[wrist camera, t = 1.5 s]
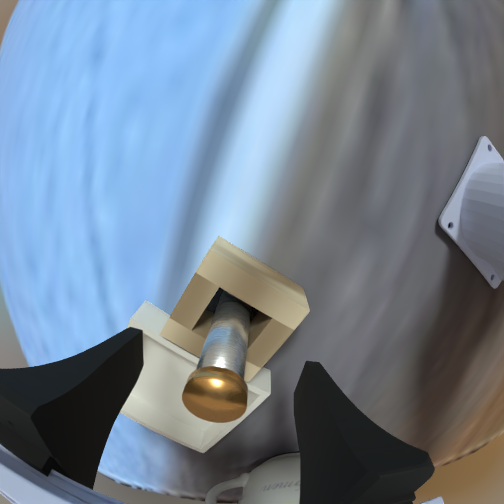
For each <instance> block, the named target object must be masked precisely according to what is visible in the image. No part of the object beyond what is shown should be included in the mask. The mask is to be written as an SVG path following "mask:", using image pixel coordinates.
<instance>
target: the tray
mask: <svg viewBox="0 0 504 504" xmlns="http://www.w3.org/2000/svg"><path fill="white" fill-rule="evenodd" d="M169 317H170V315H169V314H167V313H166V312H164V311H162V310H161V309H159V308H158V307H156V306H154V305H153V304H151V303H150V302H148V301H147V300H146V301H145V302H144V303H143V304H142V305H141V307H140V308H139V309H138V310H137V311H136V313H135V314H134V315H133V316H132V317H131V319H130V322H129V324H128V326H127V328H129V327H134V328H137V329H141V330H143V357H144V366H143V368H142V371H141V373H140V376H139V378H138V381H137V383H136V385H135V386H134V388H133V390H132V392H131V393H130V395H129V397H128V399H127V400H126V402H125V404H124V405H123V407H122V409H121V411H120V413H122V414H123V415H125V416H127V417H129V418H130V419H132V420H134V421H136V422H138V423H139V424H141V425H143V426H145V427H147V428H149V429H151V430H153V431H155V432H157V433H159V434H161V435H163V436H165V437H167V438H169V439H171V440H173V441H175V442H178V443H180V444H182V445H184V446H187V447H189V448H191V449H194V450H196V451H199V452H201V453H204V452H206V451H207V450H208V449H209V448H211V447H212V446H213V445H214V444H216V443H217V442H218V441H219V440H220V439H222V438H223V437H224V436H225V435H226V434H227V433H229V432H230V431H231V430H232V429H233V428H234V427H236V426H237V425H238V424H239V423H240V422H241V421H242V420H243V419H245V418H246V417H247V416H248V415H249V414H250V413H251V412H252V411H253V410H254V409H255V408H256V407H258V406H259V405H260V404H261V403H262V402H263V401H264V400H265V399H266V398H267V397H268V396H269V395H270V394H271V377H270V370H269V369H267V368H265V367H262V368H261V369H260V370H259V371H258V372H257V374H256V375H255V376H254V377H253V378H252V379H251V380H250V381H249V382H247V381H245V382H246V384H247V387H248V399H247V409H246V412H245V413H244V414H243V415H242V416H241V417H240V418H238V419H237V420H234V421H231V422H226V423H215V422H209V421H206V420H203V419H200V418H198V417H196V416H195V415H193V414H192V413H191V412H189V411H188V410H187V408H186V407H185V406H184V404H183V401H182V393H183V390H184V387H185V384H186V382H187V379H188V377H189V375H190V374H191V373H192V372H193V371H195V370H196V368H197V365H198V362H199V359H200V357H198V356H196V355H194V354H192V353H191V352H189V351H187V350H185V349H183V348H182V347H180V346H178V345H177V344H175V343H173V342H171V341H170V340H168V339H166V338H165V337H163V336H161V335H160V333H161V331H162V329H163V328H164V326H165V324H166V322H167V321H168V319H169ZM127 328H126V329H127Z"/></svg>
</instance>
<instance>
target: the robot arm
mask: <svg viewBox="0 0 504 504" xmlns="http://www.w3.org/2000/svg"><path fill="white" fill-rule="evenodd" d="M488 148H489V150H488ZM438 223H439V225H440V227H441V228H442V229H443V230H444V231H445V232H446V233H447V234H448V235H449V237H450V238H451V239H452V240H453V241H454V242H455V243H456V244H457V245H458V246H459V248H460V249H461V250H462V251H463V252H464V253H465V255H466V256H467V257H468V258H469V259H470V260H471V262H472V263H473V264H474V265H475V266H476V268H477V269H478V270H479V271H480V273H481V274H482V275H483V276H484V278H485V279H486V280H487V282H488V283H489V284H490V286H491V287H493V288H494V289H495V288H497V287H498V286H499V284H500V283H501V281H502V280H503V281H504V161H503V159H502V158H501V156H500V155H499V153H498V152H497V150H496V149H495V147H494V146H493V145H492V143H491V142H490V141H489V139H488V138H487V137H485V136H482V137H480V139H479V141H478V143H477V145H476V148H475V150H474V152H473V154H472V156H471V159H470V161H469V163H468V165H467V167H466V169H465V171H464V173H463V175H462V177H461V179H460V181H459V183H458V184H457V186H456V188H455V190H454V192H453V194H452V196H451V197H450V199H449V201H448V203H447V205H446V206H445V208H444V210H443V211H442V213H441V215H440V217H439V220H438ZM449 223H450V227H449V228H448V224H449ZM491 275H492V276H491ZM143 366H144V357H143V330H141V329H137V328H134V327H129V328H127V329H125V330H123V331H122V332H120V333H118V334H116V335H115V336H113V337H111V338H109V339H107V340H106V341H104V342H102V343H100V344H98V345H96V346H94V347H92V348H90V349H88V350H86V351H84V352H82V353H79V354H77V355H74V356H72V357H69V358H66V359H63V360H60V361H57V362H53V363H49V364H45V365H40V366H34V367H27V368H16V369H0V494H1V495H2V496H4V497H5V498H6V499H7V500H9V501H10V502H11V503H13V504H127V503H124V502H121V501H118V500H116V499H113V498H111V497H108V496H106V495H103V494H101V493H99V492H96V491H94V490H93V486H94V482H95V477H96V474H97V470H98V466H99V463H100V460H101V456H102V453H103V450H104V448H105V445H106V442H107V439H108V437H109V434H110V431H111V429H112V426H113V424H114V422H115V420H116V418H117V416H118V414H119V412H120V411H121V409H122V407H123V405H124V404H125V402H126V400H127V399H128V397H129V395H130V393H131V392H132V390H133V388H134V386H135V385H136V383H137V381H138V378H139V376H140V373H141V371H142V368H143ZM294 417H295V424H296V431H297V438H298V444H299V451H300V500H299V504H413V503H412V501H414V500H415V498H416V497H415V494H414V492H415V491H416V490H417V489H418V488H419V487H421V486H422V485H423V484H424V483H425V482H426V481H427V480H428V479H429V478H430V477H431V476H432V474H433V473H434V470H435V468H434V466H433V463H432V461H431V459H430V457H429V455H428V453H427V452H425V451H423V450H420V449H418V448H416V447H413V446H411V445H409V444H407V443H405V442H403V441H401V440H399V439H397V438H396V437H394V436H392V435H391V434H389V433H388V432H386V431H385V430H383V429H382V428H380V427H379V426H378V425H376V424H375V423H374V422H372V421H371V420H370V419H369V418H368V417H367V416H366V415H364V414H363V413H362V412H361V411H360V410H359V409H358V408H357V407H356V406H355V405H354V404H353V403H352V402H351V401H350V400H349V399H348V398H347V396H346V395H345V394H344V393H343V392H342V391H341V389H340V388H339V387H338V386H337V384H336V383H335V382H334V381H333V379H332V378H331V377H330V375H329V374H328V373H327V372H326V370H325V369H324V368H323V366H322V365H321V364H320V363H319V362H312V361H306V363H305V365H304V368H303V371H302V373H301V376H300V379H299V381H298V384H297V386H296V389H295V392H294ZM420 504H444V502H443V499H442V497H437V498H434V499H431V500H428V501H425V502H422V503H420Z"/></svg>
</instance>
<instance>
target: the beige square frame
mask: <svg viewBox="0 0 504 504" xmlns="http://www.w3.org/2000/svg"><path fill="white" fill-rule="evenodd" d="M219 287H220V288H222V289H224V290H225V291H227V292H229V293H230V294H232V295H234V296H235V297H237V298H239V299H240V300H242V301H244V302H246V303H247V304H249V305H251V306H252V307H254V308H256V309H258V310H259V312H258V313H257V314H256V316H255V317H254V318H253V320H252V321H251V322H250V325H249V335H248V345H247V355H246V365H245V375H244V381H247V382H249V381H250V380H251V379H252V378H253V377H254V376H255V375H256V374H257V372H258V371H259V370H260V369H261V368H262V367H263V366H264V365H265V364H266V362H267V361H268V360H269V359H270V358H271V357H272V356H273V355H274V353H275V352H276V351H277V350H278V349H279V348H280V346H281V345H282V344H283V343H284V342H285V341H286V339H287V338H288V337H289V336H290V335H291V334H292V332H293V331H294V330H295V329H296V328H297V326H298V325H299V324H300V323H301V321H302V320H303V319H304V318H305V317H306V315H307V314H308V313H309V312H310V309H309V306H308V303H307V299H306V296H305V293H304V290H303V288H302V287H300V286H299V285H297V284H296V283H294V282H292V281H291V280H289V279H288V278H286V277H284V276H283V275H281V274H280V273H278V272H276V271H275V270H273V269H271V268H270V267H268V266H267V265H265V264H263V263H262V262H260V261H259V260H257V259H255V258H254V257H252V256H251V255H249V254H247V253H246V252H244V251H243V250H241V249H239V248H238V247H236V246H235V245H233V244H231V243H230V242H228V241H227V240H225V239H223V238H222V237H220V236H218V238H217V239H216V241H215V242H214V244H213V245H212V246H211V248H210V249H209V251H208V253H207V254H206V256H205V258H204V259H203V261H202V263H201V264H200V266H199V268H198V269H197V271H196V273H195V274H194V276H193V278H192V279H191V281H190V283H189V284H188V286H187V288H186V289H185V291H184V293H183V295H182V296H181V298H180V300H179V301H178V303H177V305H176V307H175V308H174V310H173V312H172V314H171V315H170V317H169V319H168V321H167V322H166V324H165V326H164V328H163V329H162V331H161V333H160V335H161V336H163V337H165V338H166V339H168V340H170V341H171V342H173V343H175V344H177V345H178V346H180V347H182V348H183V349H185V350H187V351H189V352H191V353H192V354H194V355H196V356H198V357H200V356H201V353H202V350H203V347H204V344H205V340H206V337H207V334H208V331H209V329H210V326H211V323H212V320H213V317H214V313H212V312H210V311H209V310H207V309H206V307H207V305H208V304H209V302H210V301H211V299H212V298H213V296H214V295H215V293H216V292H217V290H218V289H219Z"/></svg>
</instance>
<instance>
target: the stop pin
mask: <svg viewBox="0 0 504 504" xmlns="http://www.w3.org/2000/svg"><path fill="white" fill-rule="evenodd" d="M250 315H251V305H249V304H247V303H246V302H244V301H242V300H240V299H239V298H237V297H235V296H234V295H232V294H230V293H229V292H227V291H225V290H224V291H223V292H222V294H221V296H220V299H219V302H218V305H217V308H216V311H215V314H214V317H213V320H212V323H211V326H210V329H209V331H208V334H207V337H206V340H205V344H204V347H203V350H202V353H201V356H200V359H199V362H198V365H197V368H196V370H195V371H193V372H192V373H191V374H190V375H189V377H188V379H187V382H186V384H185V387H184V390H183V393H182V401H183V404H184V406H185V407H186V408H187V410H188V411H189V412H191V413H192V414H193V415H195V416H196V417H198V418H200V419H203V420H206V421H209V422H215V423H226V422H231V421H234V420H237V419H238V418H240V417H241V416H242V415H243V414H244V413H245V412H246V409H247V399H248V387H247V384H246V382H245V381H244V375H245V365H246V355H247V345H248V335H249V325H250Z"/></svg>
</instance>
